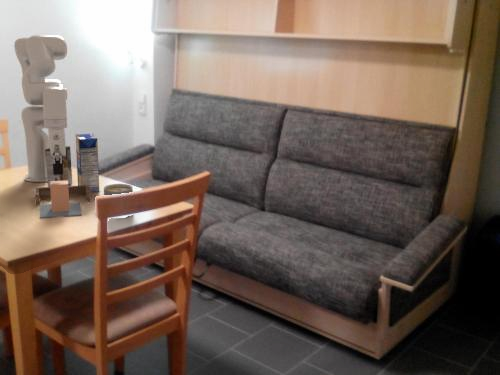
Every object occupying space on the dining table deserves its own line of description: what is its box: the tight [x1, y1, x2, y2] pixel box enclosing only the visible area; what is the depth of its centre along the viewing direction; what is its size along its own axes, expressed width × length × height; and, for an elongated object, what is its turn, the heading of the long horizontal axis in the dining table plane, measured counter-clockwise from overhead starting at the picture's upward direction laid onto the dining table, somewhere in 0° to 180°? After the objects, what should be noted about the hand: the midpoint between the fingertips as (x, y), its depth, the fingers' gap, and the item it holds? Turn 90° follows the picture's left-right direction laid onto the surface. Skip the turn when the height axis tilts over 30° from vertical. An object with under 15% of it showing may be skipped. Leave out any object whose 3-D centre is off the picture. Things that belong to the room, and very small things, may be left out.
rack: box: [34, 185, 91, 206], centre depth 206 cm, size 10×19×4 cm, turn 109°
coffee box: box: [45, 145, 73, 187], centre depth 223 cm, size 9×6×16 cm
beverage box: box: [75, 133, 100, 194], centre depth 218 cm, size 7×11×22 cm, turn 25°
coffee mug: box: [103, 183, 134, 196], centre depth 191 cm, size 13×10×10 cm
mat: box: [39, 201, 83, 219], centre depth 194 cm, size 14×14×1 cm
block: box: [50, 180, 70, 212], centre depth 193 cm, size 6×5×10 cm
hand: (58, 170), depth 191 cm, fingers open, 9 cm apart
